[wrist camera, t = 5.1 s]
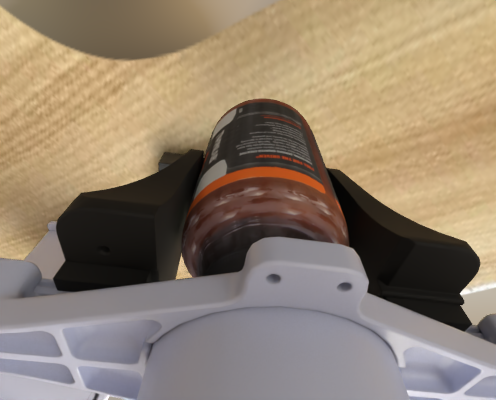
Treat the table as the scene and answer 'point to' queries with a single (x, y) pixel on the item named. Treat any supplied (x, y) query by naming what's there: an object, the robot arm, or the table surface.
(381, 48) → the table surface
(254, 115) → the supplement bottle
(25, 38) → the table surface
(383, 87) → the table surface
